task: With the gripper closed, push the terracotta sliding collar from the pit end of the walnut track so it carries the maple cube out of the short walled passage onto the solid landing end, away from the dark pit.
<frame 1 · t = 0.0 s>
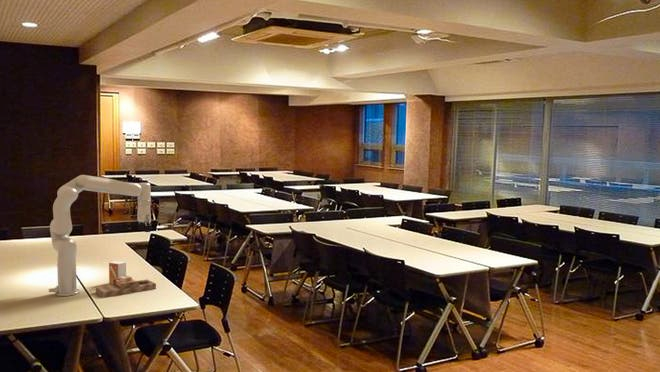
hand: (144, 231, 345), 31 cm above the table, tool pointing down, fingers open, 9 cm apart
small box: (117, 283, 341), on the table
maple cube: (126, 285, 325), point 3 cm above the table, touching track
track: (126, 290, 326), on the table
sled: (126, 282, 325), point 5 cm above the table, slide at 0.0 cm
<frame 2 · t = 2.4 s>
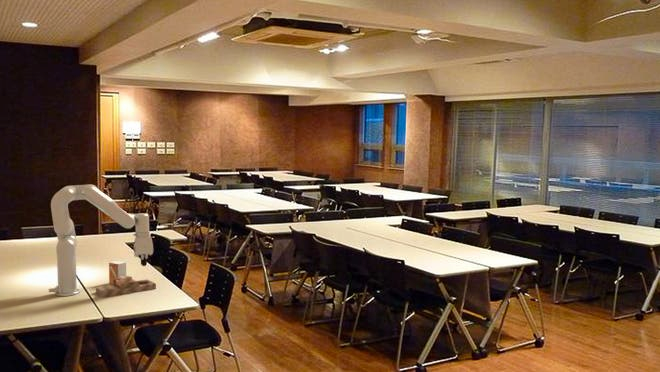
hand: (143, 265, 331), 13 cm above the table, tool pointing down, fingers closed
nothing on the table moved.
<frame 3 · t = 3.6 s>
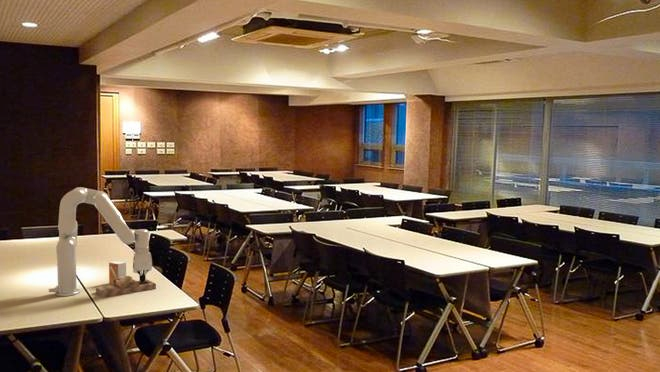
hand: (142, 281, 332), 4 cm above the table, tool pointing down, fingers closed
nothing on the table moved.
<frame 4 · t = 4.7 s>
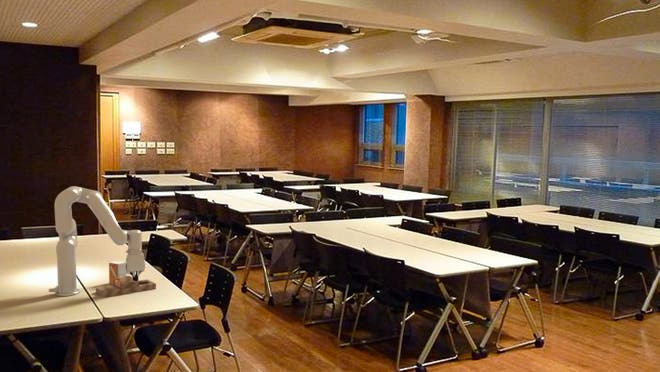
hand: (135, 282, 329), 4 cm above the table, tool pointing down, fingers closed
sled: (124, 283, 325), point 5 cm above the table, slide at 0.8 cm, touching gripper
everything else where it was.
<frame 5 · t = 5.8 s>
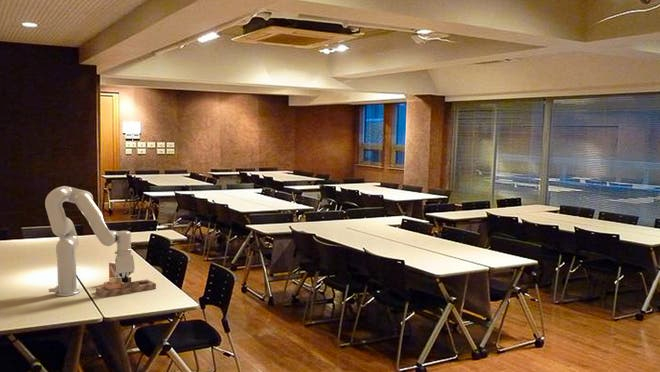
hand: (124, 284, 325), 4 cm above the table, tool pointing down, fingers closed
maple cube: (115, 287, 322), point 3 cm above the table
sled: (113, 284, 321), point 5 cm above the table, slide at 6.9 cm, touching gripper
everything else where it was.
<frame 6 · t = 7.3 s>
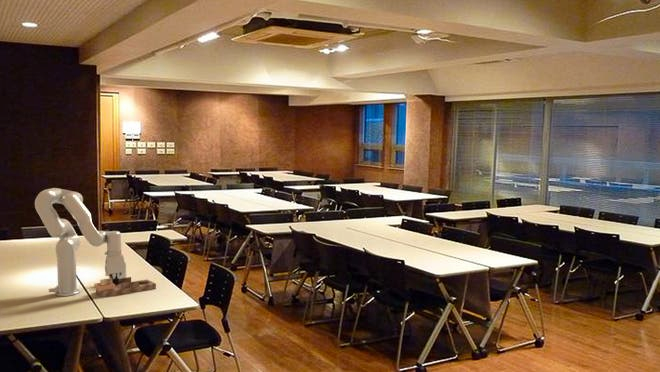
hand: (115, 284, 321), 4 cm above the table, tool pointing down, fingers closed
maple cube: (106, 288, 318), point 3 cm above the table, touching gripper, track
sled: (104, 286, 318), point 5 cm above the table, slide at 12.1 cm, touching gripper
everything else where it was.
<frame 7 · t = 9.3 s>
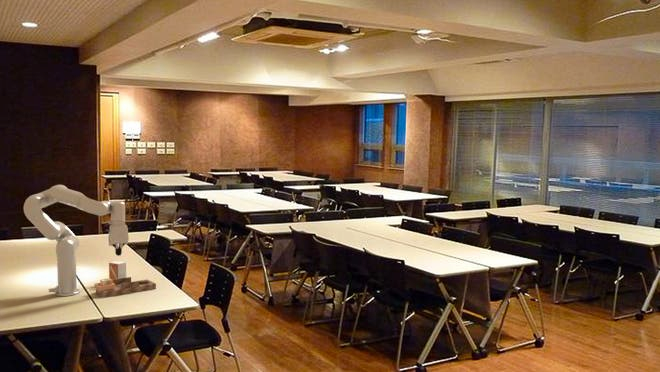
hand: (118, 255, 322), 21 cm above the table, tool pointing down, fingers closed
maple cube: (106, 288, 318), point 3 cm above the table, touching track
sled: (104, 286, 318), point 5 cm above the table, slide at 12.0 cm
everything else where it was.
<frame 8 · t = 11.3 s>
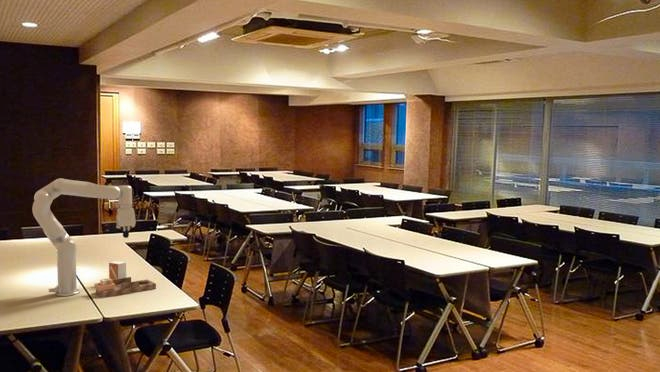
hand: (125, 237, 334), 29 cm above the table, tool pointing down, fingers closed
nothing on the table moved.
at the end: maple cube 1.2 cm from the target spot on the track, point 3.0 cm above the track's base; maple cube tilted 0°; sled slide at 12.0 cm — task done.
